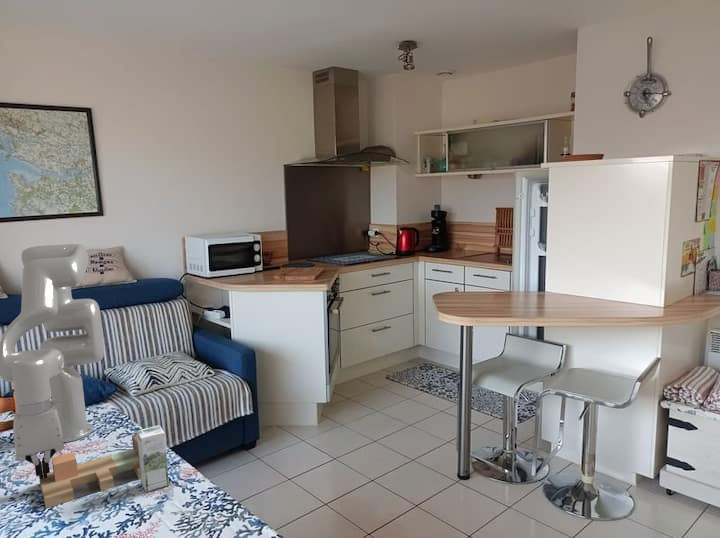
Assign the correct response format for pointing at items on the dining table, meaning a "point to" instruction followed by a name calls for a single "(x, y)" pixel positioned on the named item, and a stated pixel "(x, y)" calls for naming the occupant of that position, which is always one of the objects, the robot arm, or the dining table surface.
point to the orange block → (64, 466)
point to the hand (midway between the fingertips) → (43, 476)
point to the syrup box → (152, 458)
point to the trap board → (93, 477)
